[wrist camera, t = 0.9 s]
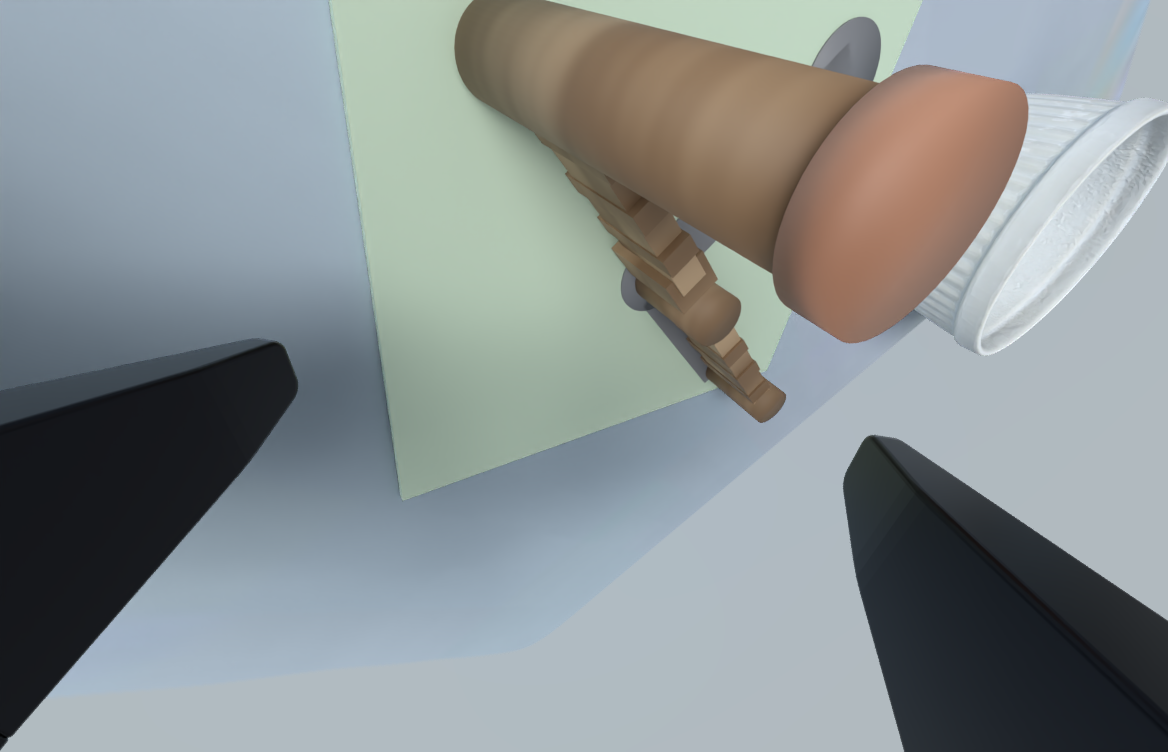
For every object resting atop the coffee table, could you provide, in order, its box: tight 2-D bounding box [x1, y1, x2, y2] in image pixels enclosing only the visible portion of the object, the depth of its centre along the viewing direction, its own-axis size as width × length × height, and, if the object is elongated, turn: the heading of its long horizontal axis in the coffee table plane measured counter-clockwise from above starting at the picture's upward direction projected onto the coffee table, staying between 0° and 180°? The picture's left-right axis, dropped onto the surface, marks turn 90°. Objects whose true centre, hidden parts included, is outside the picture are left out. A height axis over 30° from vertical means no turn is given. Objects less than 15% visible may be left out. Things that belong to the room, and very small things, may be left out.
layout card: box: [329, 0, 923, 501], centre depth 19 cm, size 21×20×1 cm
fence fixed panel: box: [635, 278, 786, 423], centre depth 23 cm, size 10×2×4 cm, turn 34°
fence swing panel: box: [454, 0, 1029, 343], centre depth 12 cm, size 10×3×11 cm, turn 34°
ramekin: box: [914, 93, 1168, 356], centre depth 29 cm, size 13×13×7 cm
